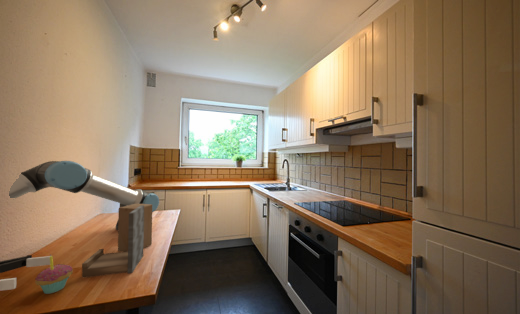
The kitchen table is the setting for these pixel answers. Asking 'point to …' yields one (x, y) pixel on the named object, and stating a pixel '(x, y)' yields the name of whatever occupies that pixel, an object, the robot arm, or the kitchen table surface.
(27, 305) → the kitchen table surface
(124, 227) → the wooden block
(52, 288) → the cupcake
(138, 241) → the wooden bookend
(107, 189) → the robot arm
